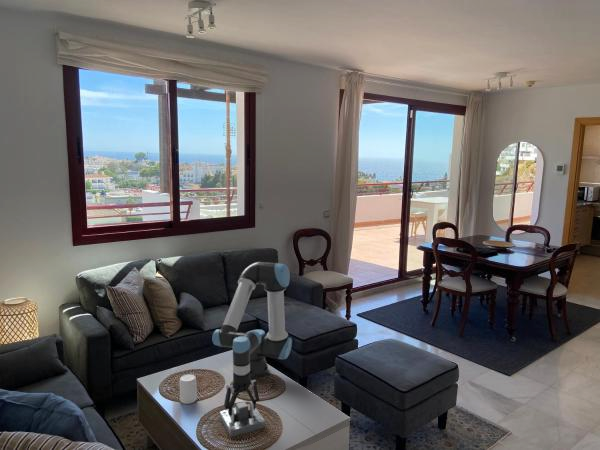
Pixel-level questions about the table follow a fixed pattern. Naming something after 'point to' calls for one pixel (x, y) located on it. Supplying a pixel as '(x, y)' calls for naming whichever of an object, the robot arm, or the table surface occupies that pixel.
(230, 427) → the socket
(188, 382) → the white upside-down cup
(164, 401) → the table surface
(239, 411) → the plug
